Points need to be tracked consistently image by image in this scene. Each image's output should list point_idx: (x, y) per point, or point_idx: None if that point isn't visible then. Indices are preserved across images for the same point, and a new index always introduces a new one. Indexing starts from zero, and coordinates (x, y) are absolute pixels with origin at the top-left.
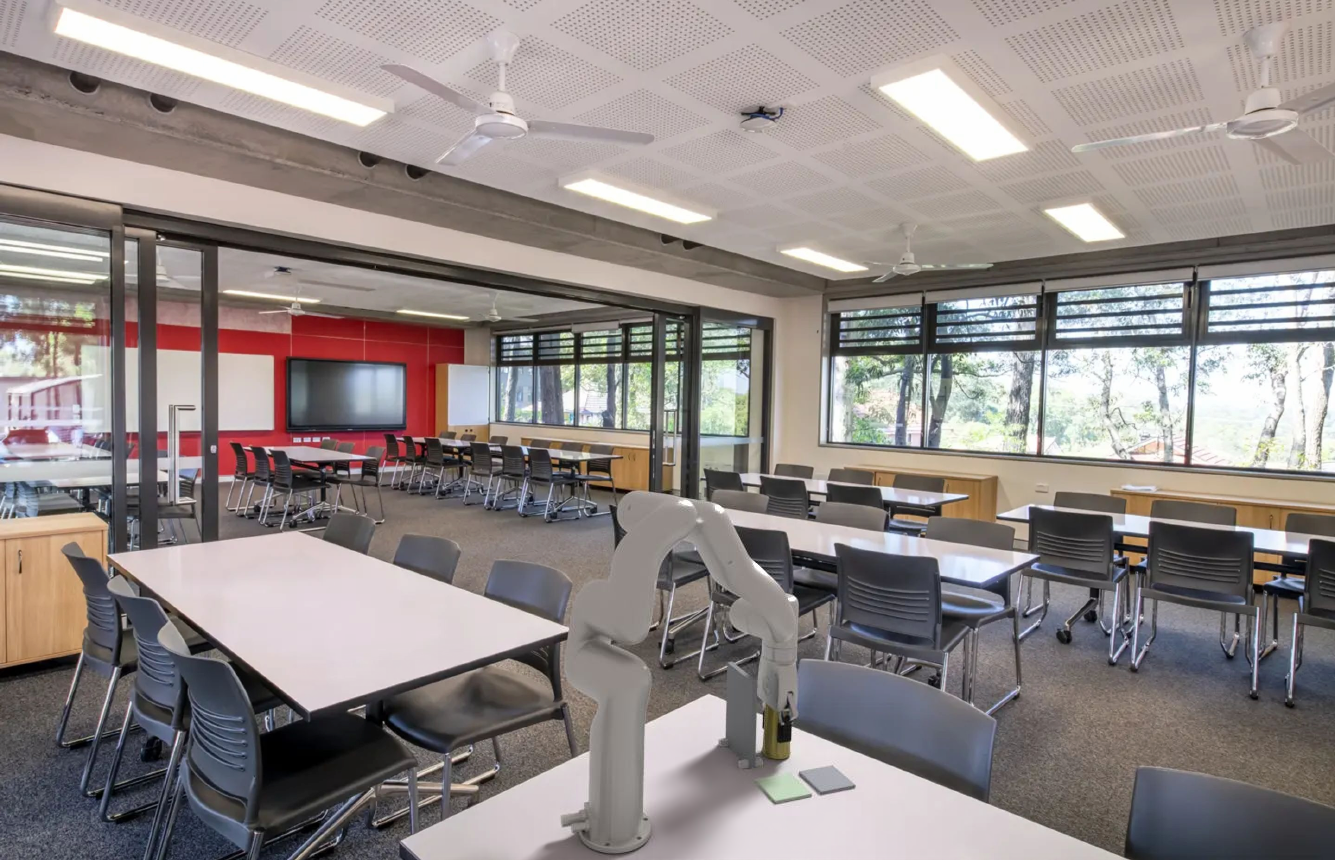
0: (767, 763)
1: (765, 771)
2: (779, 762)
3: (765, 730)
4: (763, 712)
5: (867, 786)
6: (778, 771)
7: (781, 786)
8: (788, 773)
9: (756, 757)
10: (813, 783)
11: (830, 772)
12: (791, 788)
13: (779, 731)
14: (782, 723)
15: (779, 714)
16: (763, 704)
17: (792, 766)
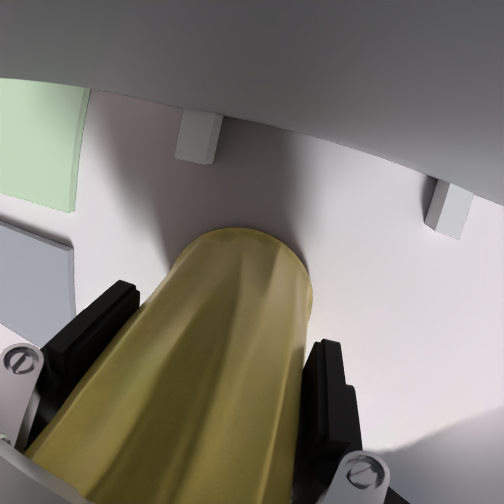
0: (186, 190)
1: (136, 133)
2: (168, 247)
3: (224, 296)
4: (337, 433)
5: (5, 341)
6: (112, 187)
7: (26, 118)
8: (69, 202)
9: (208, 141)
10: (11, 233)
11: (45, 328)
12: (11, 145)
13: (80, 321)
14: (7, 351)
15: (5, 410)
16: (361, 499)
17: (121, 268)
